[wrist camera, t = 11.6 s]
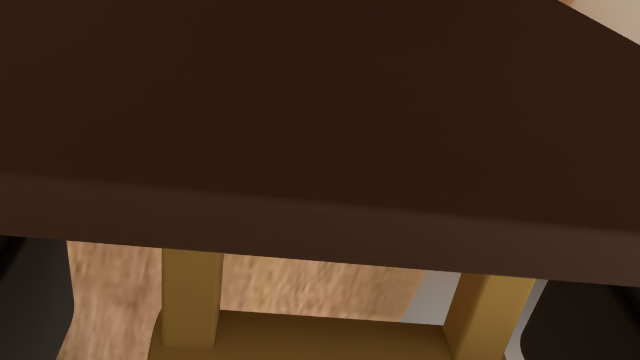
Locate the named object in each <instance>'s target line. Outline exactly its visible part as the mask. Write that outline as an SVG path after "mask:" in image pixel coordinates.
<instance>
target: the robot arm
mask: <svg viewBox="0 0 640 360" xmlns="http://www.w3.org/2000/svg"><path fill="white" fill-rule="evenodd" d="M73 313H74V298H73V290H72V282H71V274H70V267H69V259H68V251H67V243H66V240H55V239H43V238H31V237H19V236H6V235H0V360H56V357H57V355H58V353H59V350H60V348H61V346H62V343H63V341H64V339H65V336H66V334H67V332H68V329H69V327H70V325H71V322H72V318H73ZM520 347H521V352H522V354H523V357H524V359H525V360H640V287H630V286H618V285H606V284H594V283H581V282H569V281H557V280H548V282H547V284H546V286H545V288H544V290H543V292H542V294H541V296H540V298H539V300H538V302H537V304H536V306H535V308H534V310H533V312H532V314H531V316H530V318H529V320H528V322H527V324H526V326H525V328H524V330H523V332H522V335H521V339H520Z"/></svg>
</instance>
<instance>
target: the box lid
mask: <svg viewBox="0 0 640 360" xmlns="http://www.w3.org/2000/svg"><path fill="white" fill-rule="evenodd" d="M0 235H6V236H19V237H31V238H43V239H55V240H68V241H80V242H92V243H104V244H117V245H129V246H141V247H153V248H162V309H161V311H160V313H159V314H158V317H157V319H156V322H155V326H154V329H153V333H152V338H151V342H150V348H149V353H148V359H147V360H506V357H505V354H504V352H505V349H506V347H507V345H508V342H509V340H510V338H511V335H512V333H513V331H514V328H515V326H516V324H517V321H518V319H519V317H520V315H521V312H522V310H523V308H524V305H525V303H526V301H527V298H528V296H529V293H530V291H531V289H532V287H533V284H534V282H535V280H536V279H546V280H557V281H569V282H581V283H594V284H606V285H618V286H630V287H640V45H639V44H637V43H635V42H633V41H631V40H629V39H628V38H626V37H624V36H622V35H620V34H618V33H617V32H615V31H613V30H611V29H609V28H607V27H606V26H604V25H602V24H600V23H598V22H597V21H595V20H593V19H591V18H589V17H587V16H586V15H584V14H582V13H580V12H578V11H576V10H575V9H573V8H571V7H569V6H567V5H565V4H564V3H562V2H560V1H558V0H0ZM224 253H227V254H239V255H251V256H263V257H276V258H288V259H300V260H312V261H325V262H337V263H349V264H361V265H373V266H386V267H398V268H410V269H422V270H436V271H447V272H460V273H462V274H461V277H460V279H459V282H458V286H457V288H456V291H455V294H454V297H453V300H452V303H451V305H450V308H449V311H448V314H447V317H446V320H445V323H444V326H442V325H429V324H414V323H400V322H386V321H372V320H358V319H343V318H329V317H315V316H301V315H286V314H272V313H258V312H243V311H229V310H220V298H221V285H222V271H223V257H224Z"/></svg>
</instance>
